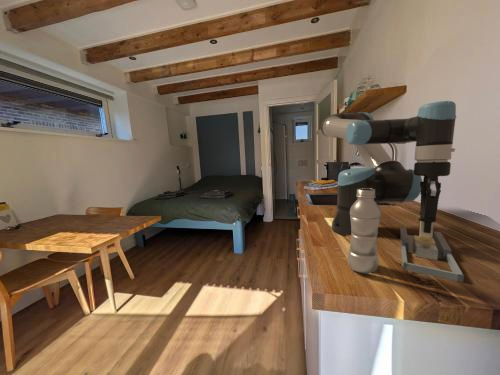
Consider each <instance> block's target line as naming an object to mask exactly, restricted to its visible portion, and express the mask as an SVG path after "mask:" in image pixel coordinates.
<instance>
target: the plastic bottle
mask: <svg viewBox="0 0 500 375" xmlns="http://www.w3.org/2000/svg"><path fill="white" fill-rule="evenodd" d="M356 197H358V199H357V200H356V201H355V202H354V204H353V205H352V206H351V208H350V219H351V232H352V233H351V235H350V244H349V249H348V253H347V257H346V258H347V264H348V266H349V268H351V270H353V271H355V272H357V273H360V274H365V275H366V274H367V275H368V274H373V273H375V272H376V271H377V270H378V266H379V262H380V261H379V254H378V234H379V226H380V223H381V217H382V209H381V207H380V206H379V203H376V202H375V201H374V198H375V197H376V196H375V189H368V188H360V189H357V195H356Z"/></svg>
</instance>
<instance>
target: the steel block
mask: <svg viewBox="0 0 500 375" xmlns="http://www.w3.org/2000/svg"><path fill="white" fill-rule="evenodd" d="M414 251H415V253H414V255H415V257H418V258H422V259H428V260H433V261H438V259H439V258H438V249H437V247H436V245H434V244H428V243H421V242H415V248H414Z"/></svg>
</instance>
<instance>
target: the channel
mask: <svg viewBox="0 0 500 375" xmlns="http://www.w3.org/2000/svg"><path fill="white" fill-rule="evenodd" d="M399 230H400V231H399V237H400V239H399V241H400V249H402V246H405V248H406V253H411V254H415V251H414V247H413V239H414V235H410V234H408V231H407V227H405V226H400V229H399ZM432 238H433V239H434V241H435V245H436V247H437V249H438V258H437V259H441V260H447V254H451V255H452V256H453V254H452V253H453V252H452V251H453V250H452V249H451V247H450V245H449V243H448V242H447V240H446V239H445V237H444V235H443V234H442V232H441V231H434V230H433V237H432Z"/></svg>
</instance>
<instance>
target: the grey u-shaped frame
mask: <svg viewBox="0 0 500 375" xmlns="http://www.w3.org/2000/svg"><path fill="white" fill-rule="evenodd" d="M400 249H401V248H400ZM401 261H402V262H401V263H402V270H405V271H411V272H415V273H418V274H422V275H423V274H424V275H428V276H432V277H437V278H441V279H445V280H450V281H454V282H458V283H464V280H465V279H464V277H465V276H464V274H463V272H462V270H461V269H460V266H459V265H458V263H457V262H456V260H455V258H454V256H453V254H452V255H451V254H447V259H446V262H447V263H448V265H449V267H450V269H451V271H448V270H444V269H439V268H434V267H430V266H425V265H420V264H416V263H411V262H408V257H407V252H406V248H405V246H402V249H401Z"/></svg>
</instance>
